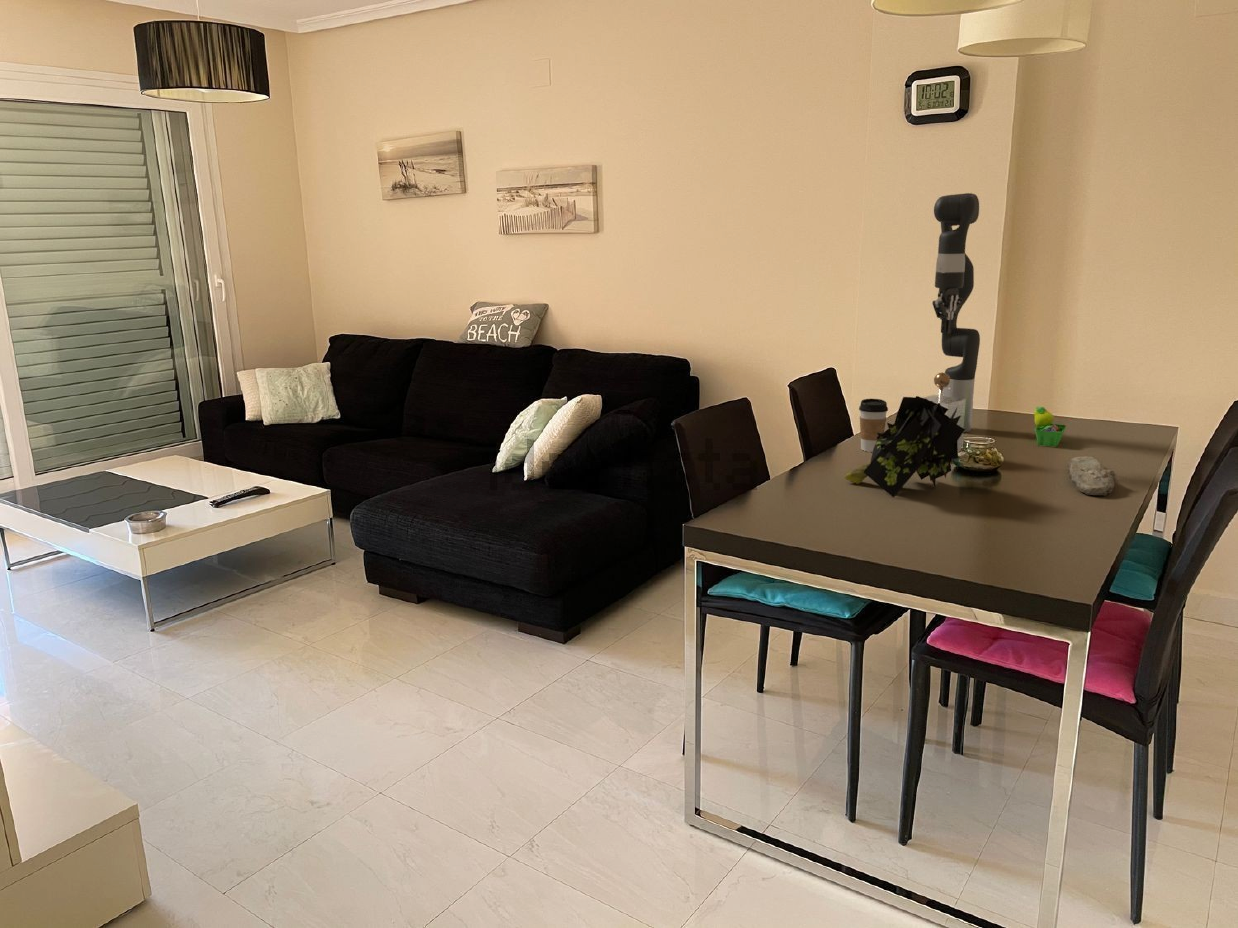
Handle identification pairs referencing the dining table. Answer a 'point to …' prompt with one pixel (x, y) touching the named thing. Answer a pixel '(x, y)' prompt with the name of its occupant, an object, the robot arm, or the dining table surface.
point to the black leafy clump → (912, 446)
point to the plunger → (941, 383)
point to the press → (952, 410)
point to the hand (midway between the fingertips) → (945, 333)
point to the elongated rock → (1091, 476)
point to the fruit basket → (1047, 428)
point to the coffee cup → (871, 422)
